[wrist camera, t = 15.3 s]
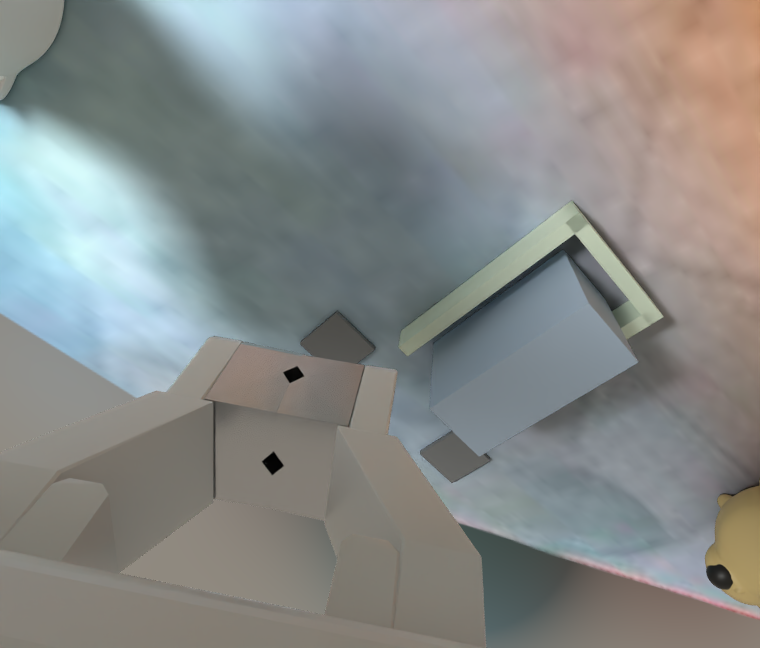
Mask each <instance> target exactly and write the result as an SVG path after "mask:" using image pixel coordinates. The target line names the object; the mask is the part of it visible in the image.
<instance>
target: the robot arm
mask: <svg viewBox="0 0 760 648" xmlns="http://www.w3.org/2000/svg"><path fill="white" fill-rule="evenodd" d="M63 9H64V0H0V100H2V99H4V98H5V97H6V96H7V94H8V93H9V91H10V89H11V87H12V85H13V83H14V81H15V78H16V76H17V74H18V73H19V72H20V71H22V70H23V69H24V68H26V67H27V66H29V65H30V64H32V63H34V62H35V61H36V60H38V59H39V58H40V57H41V56H42V55H43V54H44V53H45V52H46V51H47V50H48V49H49V47H50V46H51V44H52V43H53V41H54V39H55V37H56V35H57V33H58V30H59V27H60V24H61V20H62V15H63ZM396 380H397V371H396V369H389V368H383V367H376V366H369V365H366V366H365V365H361V364H355V363H349V362H343V361H337V360H331V359H325V358H319V357H313V356H307V355H305V354H301V353H296V352H292V351H287V350H282V349H277V348H272V347H268V346H263V345H258V344H253V343H249V342H242V341H240V340H234V339H228V338H223V337H217V336H213V337H210V338H208V339H207V340H206V342H205V343H204V344H203V345H202V347H201V348H200V349H199V351H198V352H197V353H196V354H195V356H194V357H193V358H192V359H191V361H190V362H189V363H188V365H187V366H186V367H185V368H184V370H183V371H182V372H181V374H180V375H179V376H178V377H177V379H176V380H175V381H174V383H173V384H172V385H171V386H170V388H169V389H168V390H167V392H160V391H154V392H152V393H149V394H147V395H144V396H142V397H139V398H136V399H134V400H131V401H129V402H126V403H124V404H121V405H119V406H116V407H113V408H111V409H108V410H106V411H103V412H101V413H98V414H95V415H93V416H90V417H88V418H85V419H83V420H80V421H78V422H75V423H73V424H70V425H68V426H65V427H62V428H60V429H57V430H55V431H52V432H49V433H47V434H44V435H42V436H39V437H37V438H34V439H32V440H29V441H26V442H24V443H21V444H19V445H17V446H14V447H11V448H8V449H6V450H3V451H1V452H0V648H486V639H485V618H484V599H483V579H482V559H481V556H480V554H479V553H478V552H477V550H476V549H475V547H474V546H473V544H472V543H471V542H470V540H469V539H468V537H467V536H466V535H465V533H464V532H463V530H462V529H461V527H460V526H459V524H458V523H457V522H456V520H455V519H454V517H453V516H452V514H451V513H450V512H449V510H448V509H447V507H446V506H445V505H444V503H443V502H442V500H441V499H440V497H439V496H438V495H437V493H436V492H435V490H434V489H433V487H432V486H431V485H430V483H429V482H428V480H427V479H426V477H425V476H424V475H423V473H422V472H421V470H420V469H419V468H418V466H417V465H416V463H415V462H414V460H413V459H412V458H411V456H410V455H409V453H408V452H407V450H406V449H405V448H404V446H403V445H402V443H401V442H400V440H399V439H398V438H397V437H395V436H390V435H388V430H389V423H390V417H391V411H392V405H393V398H394V392H395V386H396ZM213 499H216V500H222V501H228V502H234V503H239V504H246V505H251V506H257V507H263V508H270V509H274V510H278V511H283V512H287V513H291V514H296V515H300V516H305V517H309V518H314V519H318V520H322V521H325V523H324V524H325V527H326V530H327V532H328V535H329V538H330V541H331V543H332V546H333V549H334V551H335V554H336V557H337V563H336V567H335V572H334V576H333V580H332V584H331V589H330V593H329V597H328V601H327V605H326V610H325V614H324V615H323V614H318V613H313V612H309V611H304V610H299V609H294V608H289V607H284V606H279V605H274V604H269V603H264V602H259V601H254V600H250V599H245V598H239V597H234V596H229V595H224V594H220V593H215V592H210V591H205V590H200V589H195V588H190V587H185V586H180V585H175V584H170V583H166V582H161V581H156V580H151V579H146V578H140V577H135V576H131V575H126V574H121V573H120V572H121V571H122V570H124V569H125V568H126V567H128V566H129V565H130V564H132V563H133V562H134V561H136V560H137V559H138V558H140V557H141V556H142V555H144V554H145V553H146V552H148V551H149V550H150V549H152V548H153V547H154V546H156V545H157V544H158V543H160V542H161V541H163V540H164V539H165V538H167V537H168V536H169V535H171V534H172V533H173V532H174V531H176V530H177V529H179V528H180V527H181V526H183V525H184V524H185V523H187V522H188V521H189V520H191V519H192V518H193V517H195V516H196V515H197V514H199V513H200V512H201V511H202V510H204V509H205V508H207V507H208V506H209V505H211V504H212V503H213Z"/></svg>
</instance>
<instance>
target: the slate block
mask: <svg viewBox="0 0 760 648" xmlns="http://www.w3.org/2000/svg"><path fill="white" fill-rule="evenodd" d="M637 363H638V360H637V358H636V356H635V354H634V352H633V350H632V349H631V347H630V345H629V343H628V341H627V339H626V337H625V335H624V334H623V332H622V330H621V328H620V326H619V324H618V322H617V321H616V319H615V317H614V315H613V313H612V311H611V309H610V308H609V306H608V304H607V302H606V300H605V299H604V298H603V296H602V295H601V294H600V293H599V292H598V290H597V289H596V288H595V287H594V286H593V284H592V283H591V282H590V281H589V280H588V278H587V277H586V276H585V275H584V274H583V272H582V271H581V270H580V269H579V268H578V266H577V265H576V264H575V263H574V262H573V260H572V259H571V258H570V257H569V256H568V254H567V253H566V252H565V251H564V250H561V251H560V252H559V253H557V254H556V255H555V256H553V257H552V258H550V259H549V260H548V261H546V262H545V263H544V264H542V265H541V266H539V267H538V268H537V269H535V270H534V271H533V272H531V273H530V274H528V275H527V276H526V277H524V278H523V279H521V280H520V281H519V282H517V283H516V284H515V285H513V286H512V287H510V288H509V289H508V290H506V291H505V292H504V293H502V294H501V295H499V296H498V297H497V298H495V299H494V300H493V301H491V302H490V303H488V304H487V305H486V306H484V307H483V308H482V309H480V310H479V311H477V312H476V313H475V314H473V315H472V316H470V317H469V318H468V319H466V320H465V321H464V322H462V323H461V324H459V325H458V326H457V327H455V328H454V329H453V330H451V331H450V332H448V333H447V334H446V335H444V336H443V337H442V338H440V339H439V340H437V341H436V342H435V343H434V344H433V359H432V374H431V389H430V405H429V409H430V410H431V411H432V412H433V413H434V414H435V415H436V416H437V417H438V418H439V419H440V420H441V421H442V422H443V423H444V424H445V425H447V426H448V427H449V428H450V429H451V430H452V431H453V432H454V433H455V434H456V435H457V436H458V437H459V438H460V439H461V440H462V441H463V442H464V443H465V444H466V445H467V446H468V447H469V448H471V449H472V450H473V451H474V452H475V453H476V454H477V455H478V456H481V455H483V454H484V453H486V452H488V451H489V450H491V449H493V448H495V447H496V446H498V445H500V444H501V443H503V442H505V441H506V440H508V439H510V438H511V437H513V436H515V435H517V434H518V433H520V432H522V431H523V430H525V429H527V428H528V427H530V426H532V425H533V424H535V423H537V422H539V421H540V420H542V419H544V418H545V417H547V416H549V415H550V414H552V413H554V412H555V411H557V410H559V409H561V408H562V407H564V406H566V405H567V404H569V403H571V402H572V401H574V400H576V399H577V398H579V397H581V396H583V395H584V394H586V393H588V392H589V391H591V390H593V389H594V388H596V387H598V386H599V385H601V384H603V383H605V382H606V381H608V380H610V379H611V378H613V377H615V376H616V375H618V374H620V373H621V372H623V371H625V370H627V369H628V368H630V367H632V366H633V365H635V364H637Z"/></svg>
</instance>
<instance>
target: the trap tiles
mask: <svg viewBox="0 0 760 648" xmlns="http://www.w3.org/2000/svg"><path fill="white" fill-rule="evenodd" d="M300 344H301V345H302V346H303V347H304V348H305V349H306V350H307V351H308V352H309V353H310V354H311V355H313V356H314V357H319V358H325V359H331V360H337V361H343V362H349V363H355V364H357V363H358V362H360V361H361V360H362V359H363V358H365V357H366V356H367V355H369V354H370V353H371V352H373V351H374V350H375V347H374V346H373V345H372V344H371V343H370V342H369V341H368V340H367V339H366V338H365V337H364V336H363V335H362V334H361V333H360V332H359V331H358V330H357V329H356V328H355V327H354V326H353V325H352V324H351V323H349V322H348V321H347V320H346V319H345V318H344V317H343V316H342V315H341V314H340V313H339V312H338V311H337V312H336V313H334V314H333V315H332V316H331V317H330V318H328V319H327V320H326V321H325V322H324V323H322V324H321V325H320V326H319V327H318V328H316V329H315V330H314V331H313V332H312V333H310V334H309V335H308V336H307V337H306V338H304V339H303V340H302V341H301V343H300ZM420 454H421V455H422V456H423V457H424V458H425V459H426V460H427V461H428V462H429V463H430V464H432V465H433V466H434V467H435V468H436V469H437V470H438V471H439V472H440V473H441V474H442V475H444V476H445V477H446V478H447V479H448V480H449V481H450V482H451V483H453V482H455V481H456V480H458V479H460V478H462V477H463V476H465V475H467V474H468V473H470V472H472V471H474V470H475V469H477V468H479V467H480V466H482V465H484V464H486V463H487V462H489V461H490V457H489V456H488V455H487V454H485V453H484V454H483V455H481V456H478V455H477V454H476V453H475V452H474V451H473V450H472V449H471V448H469V447H468V446H467V445H466V444H465V443H464V442H463V441H462V440H461V439H460V438H459V437H458V436H457V435H456V434H455V433H454V432H453V431H451V432H449V433H448V434H446V435H445V436H443V437H442V438H440V439H438V440H437V441H435V442H434V443H432V444H430V445H429V446H427V447H426V448H424V449H423V450H421V451H420Z"/></svg>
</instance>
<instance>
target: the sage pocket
mask: <svg viewBox="0 0 760 648" xmlns="http://www.w3.org/2000/svg"><path fill="white" fill-rule="evenodd" d="M574 234H575V235H576V236H577V237H578V238H579V240H580V241H581V242H582V243H583V244H584V246H585V247H586V248H587V249H588V251H589V252H590V253H591V254H592V255H593V257H594V258H595V259H596V260H597V261H598V263H599V264H600V265H601V266H602V268H603V269H604V270H605V271H606V272H607V274H608V275H609V276H610V277H611V279H612V280H613V281H614V282H615V283H616V285H617V286H618V287H619V288H620V290H621V291H622V292H623V293H624V294H625V296H626V297H627V298H628V299H629V300H628V301H627V302H625V303H624V304H622V305H621V306H619V307H618V308H616V309H615V310H613V311H612V313H613V315H614V317H615V319H616V321H617V322H618V324H619V326H620V328H621V330H622V332H623V334H624V335H625V337H626V339H629V338H630V337H632V336H633V335H635V334H637V333H638V332H640V331H642V330H643V329H645V328H646V327H648V326H650V325H651V324H653V323H655V322H656V321H658V320H659V319H661V318H663V315H662V314H661V312H660V311H659V309H658V308H657V307H656V305H655V304H654V302H653V301H652V300H651V298H650V297H649V296H648V295H647V293H646V292H645V291H644V290H643V288H642V287H641V286H640V285H639V283H638V282H637V281H636V280H635V278H634V277H633V276H632V275H631V273H630V272H629V271H628V270H627V268H626V267H625V266H624V265H623V263H622V262H621V261H620V260H619V258H618V257H617V256H616V255H615V254H614V252H613V251H612V250H611V249H610V247H609V246H608V245H607V244H606V242H605V241H604V240H603V239H602V237H601V236H600V235H599V234H598V232H597V231H596V230H595V229H594V227H593V226H592V225H591V224H590V222H589V221H588V220H587V219H586V217H585V216H584V215H583V214H582V212H581V211H580V210H579V209H578V207H577V206H576V205H575V204H574V202H573V201H570V202H569V203H568V204H567V205H565V206H564V207H563V208H561V209H560V210H559V211H557V212H556V213H555V214H553V215H552V216H551V217H549V218H548V219H547V220H546V221H544V222H543V223H542V224H540V225H539V226H538V227H536V228H535V229H534V230H532V231H531V232H530V233H528V234H527V235H526V236H525V237H523V238H522V239H521V240H519V241H518V242H517V243H515V244H514V245H513V246H511V247H510V248H509V249H508V250H506V251H505V252H504V253H502V254H501V255H500V256H498V257H497V258H496V259H494V260H493V261H492V262H490V263H489V264H488V265H487V266H485V267H484V268H483V269H481V270H480V271H479V272H477V273H476V274H475V275H473V276H472V277H471V278H469V279H468V280H467V281H466V282H464V283H463V284H462V285H460V286H459V287H458V288H456V289H455V290H454V291H452V292H451V293H450V294H449V295H447V296H446V297H445V298H443V299H442V300H441V301H439V302H438V303H437V304H435V305H434V306H433V307H431V308H430V309H429V310H428V311H426V312H425V313H424V314H422V315H421V316H420V317H418V318H417V319H416V320H414V321H413V322H412V323H411V324H409V325H408V326H407V327H405V328H404V329H403V330H401V334H400V340H399V346H398V348H399V349H400V350H401V351H402V352H403V353H404V354H405V355H406V356H409V355H410V354H412V353H413V352H414V351H416V350H417V349H419V348H420V347H421V346H423V345H424V344H425V343H427V342H428V341H429V340H431V339H432V338H434V337H435V336H436V335H438V334H439V333H440V332H442V331H443V330H444V329H446V328H447V327H449V326H450V325H451V324H453V323H454V322H455V321H457V320H458V319H459V318H461V317H462V316H464V315H465V314H466V313H468V312H469V311H470V310H472V309H473V308H474V307H476V306H477V305H479V304H480V303H481V302H483V301H484V300H485V299H487V298H488V297H490V296H491V295H492V294H494V293H495V292H496V291H498V290H499V289H500V288H502V287H503V286H505V285H506V284H507V283H509V282H510V281H511V280H513V279H514V278H515V277H517V276H518V275H520V274H521V273H522V272H524V271H525V270H526V269H528V268H529V267H530V266H532V265H533V264H535V263H536V262H537V261H539V260H540V259H541V258H543V257H544V256H545V255H547V254H548V253H550V252H551V251H552V250H554V249H555V248H556V247H558V246H559V245H560V244H562V243H563V242H565V241H566V240H567V239H569V238H570V237H571V236H573V235H574Z"/></svg>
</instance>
